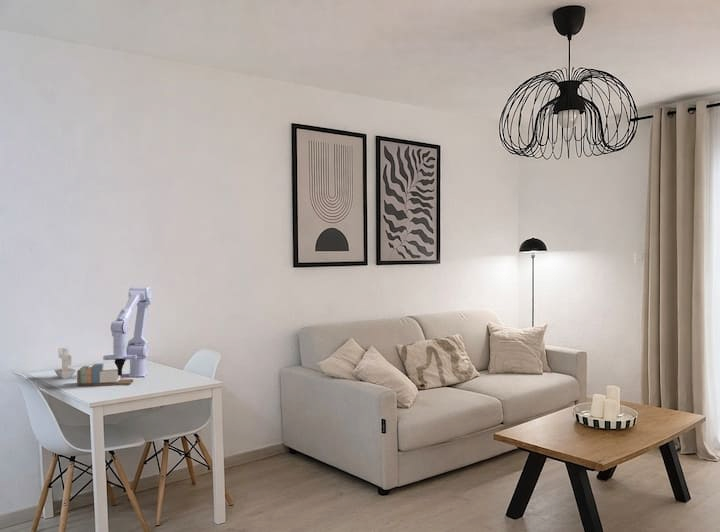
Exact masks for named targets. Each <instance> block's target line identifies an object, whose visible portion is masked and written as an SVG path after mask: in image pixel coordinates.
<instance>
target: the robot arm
mask: <svg viewBox="0 0 720 532" xmlns="http://www.w3.org/2000/svg"><path fill="white" fill-rule="evenodd" d="M152 298H153V291H152V288H151V287H150V286H130V288H129V289H128V300H127V302H126V306H125V307H124V308H122V309H121V310H120V312H119V314H118V315H117V317H116V320H114V321H112V322H111V325H110V332H111V336H112V337H113V339H112V340H113V341H112V342H113V343H112V344H113V345H112V346H113V352H112V353H113V354H110V355H103V357H102V358H103V359H102V360H103V361H114V365H116V367H117V368H116V369H118V371H119V372H118V375H120V376H122V375H123V368H124V365H125V362H126V360H129V374H128V375H127V378H137V377H139V378H142V377H143V378H144V377H146V376H147V375H148V373H149V371H147V360H146V358H148V355H149V354H150V342H149V341H148V340H146V338H145V333H146V327H147V318H148V312H149V305H151V304H152ZM136 307H137V308H136ZM135 308H136V309H137V310H136V317H135V322H134V331H133V332H134V333H133V337H132V338H130V339H129V340H128V342H127V332H128V331H129V329H130V322H131V319H132V318H133V315H134V313H133V311H134V309H135Z"/></svg>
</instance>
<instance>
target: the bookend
mask: <svg viewBox="0 0 720 532" xmlns="http://www.w3.org/2000/svg"><path fill="white" fill-rule="evenodd" d="M118 372H119V371H118V368H103V370H102V371H100V383H106V382H118V381H119V380H120V379H121V375H118Z"/></svg>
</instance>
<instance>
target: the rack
mask: <svg viewBox="0 0 720 532" xmlns="http://www.w3.org/2000/svg"><path fill="white" fill-rule="evenodd" d="M76 378H77V380H76V381H77V383H76V386H77V387H97V386H99V387H100V386H104V387H105V386H107V387H108V386H129V385H131V384H132V383H133V382H134V378H129V379H128V378H126V379H123V378H120V380H119V381H118V382H106V383H92V366H90V365H83V366H82V367H80V369H78V370H76Z"/></svg>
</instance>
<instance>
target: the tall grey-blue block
mask: <svg viewBox="0 0 720 532" xmlns="http://www.w3.org/2000/svg"><path fill="white" fill-rule="evenodd" d="M91 367H92V383H100V371H102V370H103V369H104V362H103V363H102V362H100V363H94V364H93V365H91Z"/></svg>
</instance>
